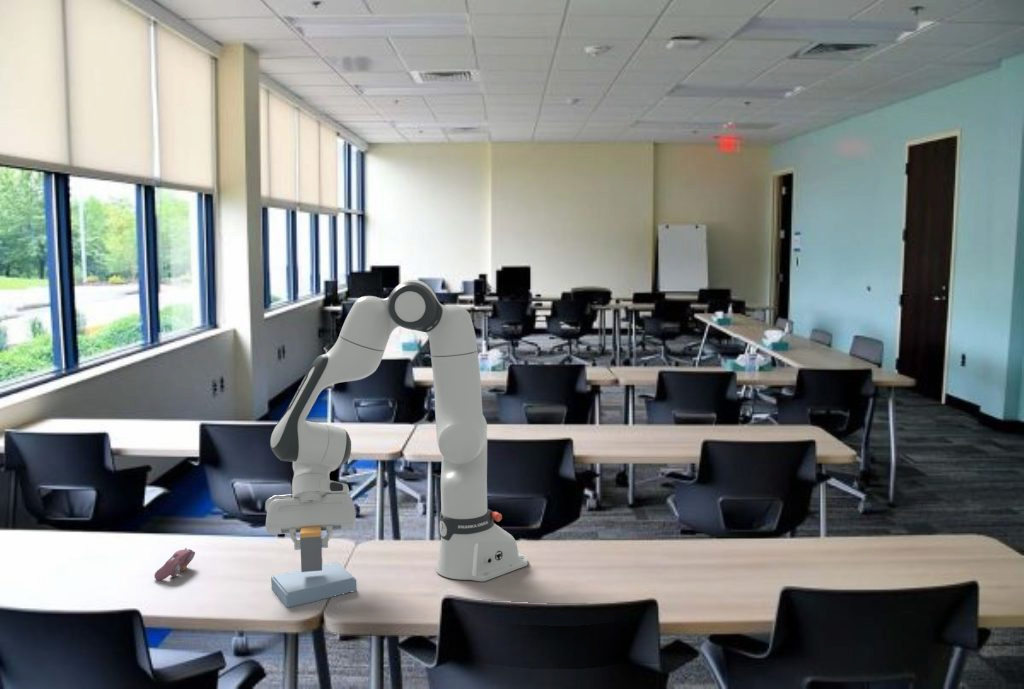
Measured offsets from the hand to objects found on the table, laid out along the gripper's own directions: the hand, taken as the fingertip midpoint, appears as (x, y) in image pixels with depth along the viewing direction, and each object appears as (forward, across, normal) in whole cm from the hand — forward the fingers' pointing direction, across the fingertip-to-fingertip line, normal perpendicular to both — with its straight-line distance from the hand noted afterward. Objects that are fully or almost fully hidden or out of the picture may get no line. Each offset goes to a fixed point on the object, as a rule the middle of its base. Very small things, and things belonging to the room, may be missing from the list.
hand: (311, 547), depth 189 cm
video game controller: (-5, -33, +20) cm, 39 cm away
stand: (+7, 0, +8) cm, 10 cm away
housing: (+3, 0, +4) cm, 5 cm away
